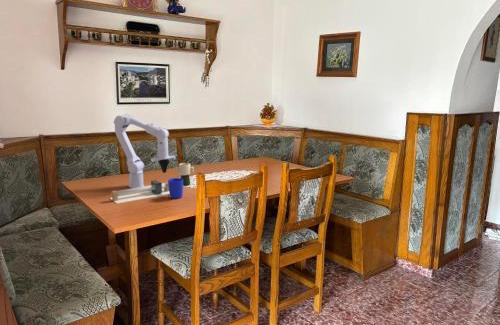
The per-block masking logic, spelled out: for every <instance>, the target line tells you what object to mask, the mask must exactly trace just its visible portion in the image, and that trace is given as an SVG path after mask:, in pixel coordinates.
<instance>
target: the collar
mask: <svg viewBox="0 0 500 325" xmlns="http://www.w3.org/2000/svg"><path fill="white" fill-rule="evenodd" d="M162 184H163V182H160V181H159V180H157V179H155V180H151V181H150V186H151V185H155V190H151V191H152V192H154V193H156V194H160V193H162V189H163V188H162Z"/></svg>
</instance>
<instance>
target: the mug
mask: <svg viewBox="0 0 500 325" xmlns="http://www.w3.org/2000/svg"><path fill="white" fill-rule="evenodd" d="M167 182H168V185H169V193H170V194H169V196H170V198H171V199H176V200H177V199H181V198H182V197H183V193H184V185H183V179H181V177H174V178H173V177H172V178H169V179H168V180H167Z"/></svg>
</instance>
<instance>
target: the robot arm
mask: <svg viewBox="0 0 500 325" xmlns="http://www.w3.org/2000/svg"><path fill="white" fill-rule="evenodd" d="M113 123H114V124H113V125H114V133H115V135H116V137H117V140H118V142H119V144H120V146H121V148H122V151H123V153H124V155H125V156H126V158H127V159H126V160H127V161H126V165H127V170H128V172H129V175H128V185H127V186H128V187H129V189H132V188H138V187H145V186H146V185H144V168H145V164H144V162H143V161H142V160H141V158H140V157H139V156H138V155H137V154H136V152H135V149H134V147H133V146H132V144H131V141H130V139H129V137H128V135H127V133H126V131H127V129H128V127H129V126H130V125H133V126H136V127H138V128H141V129H143V130H145V132H146V133H147V134H149V135H151V136H153V137H155V138H156V139H157V152H158V154H157V155H158V156H156V157H151V159H150V162H152V163H154V162H158V164H159V166H160V168H161V171H162V173H163V174H165V173H167V170H168V165H169V164H170V160H176V159H177V158H176V155H169V143H168V142H169V140H168V139H169V138H168V137H169V135H170V132H169V130H168V129H166V128H162V127H161V126H158V125H155V123H154V122H149V123H146V122H145V121H142V120H141V119H138V118H136V117H134V116H133V115H130V114H128V113H127V114H122V115H116V117H115V118H114V120H113Z"/></svg>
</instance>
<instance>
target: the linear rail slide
mask: <svg viewBox="0 0 500 325" xmlns="http://www.w3.org/2000/svg"><path fill="white" fill-rule="evenodd" d="M144 186H145V187H138V188H127V189H121V190H111V197H109V199H110V200H111V201H112V202H114V203H115V204H116V205H118V204H124V203H129V202H135V201H141V200H145V199H151V198H156V197H157V198H158V197H162V196H168V195H169V196H170V193H169V185H168V181H167V182H162V193H160V194H156V193H154V192H152V191H151V190H155V185H151V184H150V185H144Z"/></svg>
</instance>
